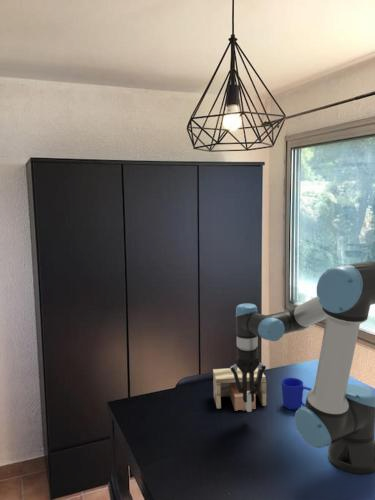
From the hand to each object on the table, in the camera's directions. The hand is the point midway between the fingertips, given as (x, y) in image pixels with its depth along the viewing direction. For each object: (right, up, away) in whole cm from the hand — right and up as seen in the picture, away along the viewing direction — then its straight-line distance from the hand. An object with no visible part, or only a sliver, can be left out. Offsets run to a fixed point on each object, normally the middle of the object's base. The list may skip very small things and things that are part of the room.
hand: (248, 410), depth 159 cm
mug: (+20, -3, +11) cm, 23 cm away
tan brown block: (0, -3, +16) cm, 16 cm away
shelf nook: (-1, -3, +17) cm, 18 cm away
